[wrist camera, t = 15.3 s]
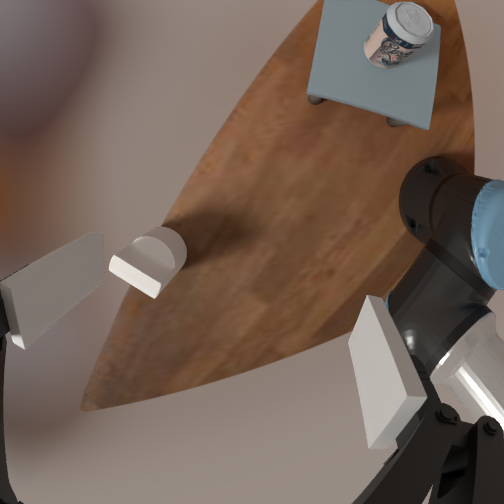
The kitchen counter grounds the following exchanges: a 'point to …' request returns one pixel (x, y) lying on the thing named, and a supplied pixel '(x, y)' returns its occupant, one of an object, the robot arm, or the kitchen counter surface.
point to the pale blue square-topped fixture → (371, 67)
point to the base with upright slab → (151, 260)
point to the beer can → (398, 34)
